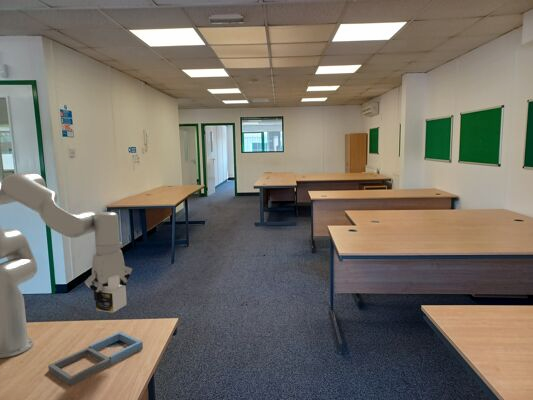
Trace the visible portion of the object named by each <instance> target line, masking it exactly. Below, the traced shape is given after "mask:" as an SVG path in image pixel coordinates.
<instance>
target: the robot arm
mask: <svg viewBox="0 0 533 400" xmlns="http://www.w3.org/2000/svg"><path fill="white" fill-rule="evenodd" d="M46 186H47V184H46V181H45V179H44V178H43V176H41V175H39V174H37V173H35V172H20V173H18V172H17V173H12V174H9V175H7V176H5V177H4V178H3V179H2V180H0V205H7V204H12V203H16V202H17V203H19V204H21V205H23V206H24V207H27V208H29V209H30V210H32V211H34V212H36V213H38V214H39V217H40V219H41V220H42V222H43V223H44V224H45V225H46V226H47V227H48V228H50V230H53V231H55V232H57V233H59V234H60V235H63V236H65V237H68V238H72V239H76V238H80V237H82V236H85V235H87V234H91V233H94V242H95V244H94V245H95V253H93V255H92V260H91V261H92V262H91V263H92V264H91V275H89V276H88V278H87V279H85V281H84V283H85V285H86V286H87V287H88V288H89V289H90V290H92V292H93V301H95V303H96V302H98V303H102V292H101V291H100V289H101V287H102V285H103V284H105V283H107V280H108V278H110V277H111V276H114V275H119V279H120V285H125V286H126V287H127V283H128V280H129V278H130V276H131V273H132V271H133V268H132V267H129V266H126V265H125V264H126V263H125V260H124V255H123V251H122V249H121V247H122V246H123V242H121V241H120V225H119V215H118V214H117V213H116V212H114V211H103V212H99V211H95V210H85V211H81V212H76V213H74V214H72V213H70V212H68V211H66V210H65V209H63V208H61V207H60V206H58V205H57V202H58V194H57V192H55V191H54V190H52V189H50V188H47V187H46ZM5 258H7V259H6V260H5V261H3V262H0V359H5V358H10V357H11V358H12V357H14V356H17V355H20V354H23V353H25V352H26V351H29V349H31V348H32V346H33V345H34V339H32V338H31V337H28V328H27V327H28V326H27V318H26V317H27V316H26V306H25V305H26V304H25V298H24V295H23V293H22V291H21V290H20V289H19V286H20V285H22V284H24V283H26V282H28V281H29V280H31V279H33V278H35V276H36V275H37V272H38V264H37V261H36V259H35V255H34V253H33V251H32V248H31V246H30V244H29V241H28V239H27V237H26V236H25V234H24V233H23V232H21V231H19V230H18V229H14V228H9V229H7V228H6V229H2V227H1V225H0V260H2V259H5ZM92 282H93V283H94V284H93V283H92Z"/></svg>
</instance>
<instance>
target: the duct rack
mask: <svg viewBox="0 0 533 400" xmlns="http://www.w3.org/2000/svg"><path fill="white" fill-rule="evenodd" d="M118 341H121V342H123V343H125V344H127V345H128V346H126V347H124V348H123V349H121V350H119V351H116V352H114V353H112V354H111V355H109V356H108V355H105V354H103V353H101V352H100V351H99V350H101V349H104V348H105V347H107V346H110V345H112V344H114V343H116V342H118ZM143 343H144V342H143V341H142V340H140V339H137V338H135V337H133V336H131V335H128V334H126V333H124V332H121V331H118V332H116V333H113V334H112V335H109V336H107V337H105V338H102V339H100V340H98V341H96V342H94V343H91V344H89V345H88V347H86V348H84V349H81V350H79V351H77V352H75V353H73V354H70V355H68V356H65V357H63V358H61V359H58V360H57V361H54V362H53V363H50V364H48V367H47V368H48V372H50V373H51V374H52V375H54V376H56V377H57V378H58V379H60V380H62V381H63V382H64V383H66V384H67V385H69V386H72V385H75V384H76V383H78V382H80V381H82V380H84V379H86V378H89V377H90V376H92V375H94V374H96V373H98V372H99V371H101V370H103V369H105V368H107V367H109V366H111V365H113V364H115V363H117V362H119V361H121V360H122V359H125V358H126V357H128V356H131V355H132V354H134V353H137V352H138V351H140V350H142V349H143V348H144V347H143ZM86 356H89V357H91V358H92V359H95V360H96V361H98V363H95V364H93V365H91V366H89V367H87V368H85V369H83V370H81V371H79V372H77V373H75V374H73V375H71V374H69V373H68V372H66V371H64V370H63V369H62V367H65V366H68V365H70V364H72V363H73V362H76V361H78V360H80V359H83V358H84V357H86Z"/></svg>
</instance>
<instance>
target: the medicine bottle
mask: <svg viewBox="0 0 533 400" xmlns="http://www.w3.org/2000/svg"><path fill="white" fill-rule="evenodd" d="M100 291H101V292H102V303H98V302H96V301H95V311H97V312H98V311H100V312H107V313H111V314H113V313H115V312H117V311H118V310H120V309H121V308H123V307H125V306H127V305H128V304H127V285H126V286H125V285H120V279H119V275H114V276H111V277H110V278H108V280H107V283H105V284H103V285H102V287H101V289H100Z"/></svg>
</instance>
